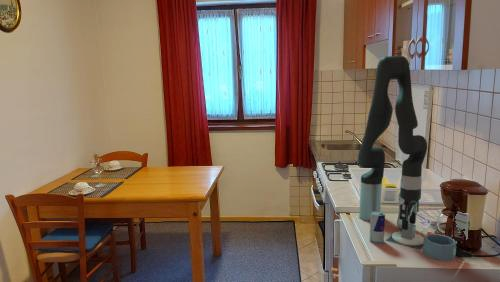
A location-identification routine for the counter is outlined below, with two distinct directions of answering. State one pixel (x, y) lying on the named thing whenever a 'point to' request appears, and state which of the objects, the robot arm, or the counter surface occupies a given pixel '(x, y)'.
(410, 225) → the lid
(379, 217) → the energy drink
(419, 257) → the counter surface
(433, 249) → the bowl
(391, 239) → the mat
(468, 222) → the syrup box
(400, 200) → the plastic bottle
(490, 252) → the counter surface
